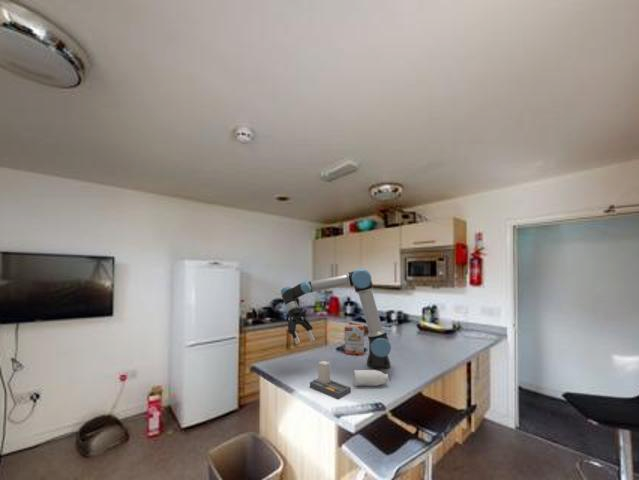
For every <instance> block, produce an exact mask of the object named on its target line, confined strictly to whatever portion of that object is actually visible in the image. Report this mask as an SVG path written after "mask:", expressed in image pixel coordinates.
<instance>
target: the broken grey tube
mask: <svg viewBox="0 0 639 480" xmlns="http://www.w3.org/2000/svg"><path fill="white" fill-rule="evenodd" d="M352 372H353V374H352V375H353V384H354V386H355V387H359V386H360V387H365V386H367V387H368V386H369V387H374V386H375V387H378V386H380V385H383V384H384V383H385V384H387V383H388V382H390V380H389V375H388V373H386V374H385V373H384V372H382V371H380V370H378V369H353V370H352Z"/></svg>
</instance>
